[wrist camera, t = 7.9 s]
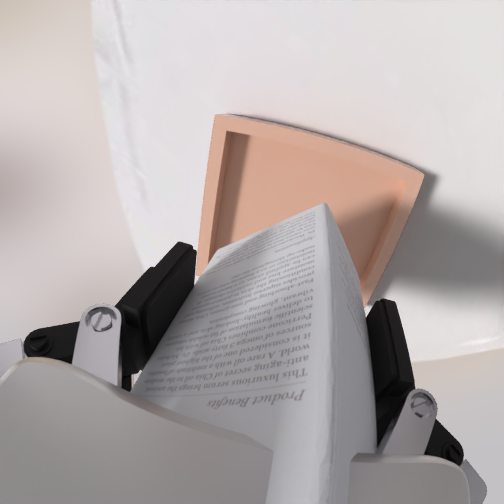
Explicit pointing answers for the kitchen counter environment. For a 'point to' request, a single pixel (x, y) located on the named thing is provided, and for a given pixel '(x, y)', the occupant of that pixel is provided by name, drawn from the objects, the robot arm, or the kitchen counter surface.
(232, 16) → the kitchen counter surface
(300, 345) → the skincare box
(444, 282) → the kitchen counter surface
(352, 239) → the tray
